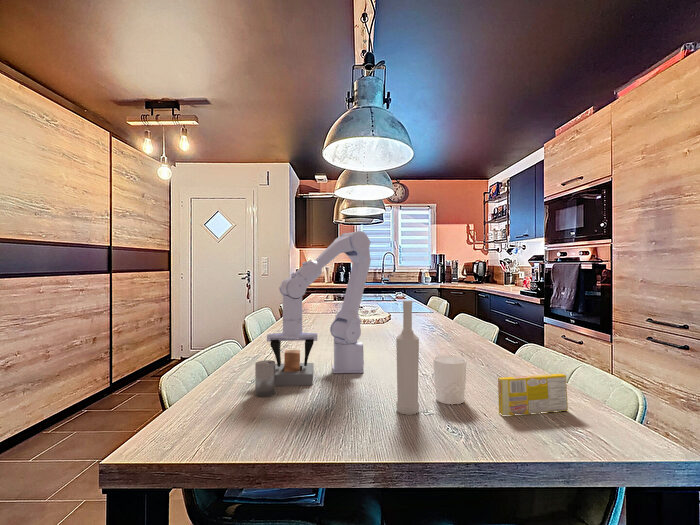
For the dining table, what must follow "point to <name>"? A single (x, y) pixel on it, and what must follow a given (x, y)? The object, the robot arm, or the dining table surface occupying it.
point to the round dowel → (265, 378)
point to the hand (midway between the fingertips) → (292, 365)
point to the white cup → (450, 379)
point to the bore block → (294, 375)
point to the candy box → (532, 394)
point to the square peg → (292, 360)
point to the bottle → (407, 365)
